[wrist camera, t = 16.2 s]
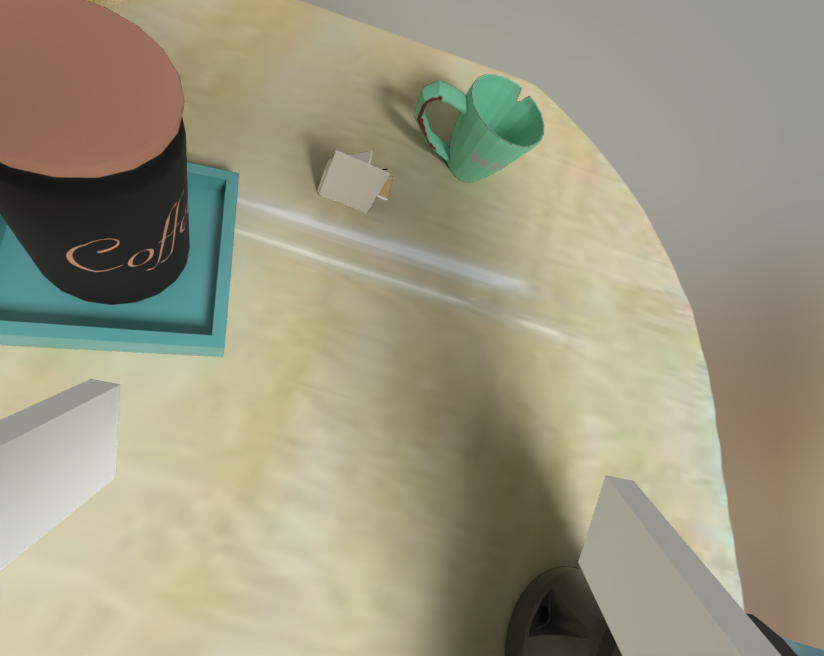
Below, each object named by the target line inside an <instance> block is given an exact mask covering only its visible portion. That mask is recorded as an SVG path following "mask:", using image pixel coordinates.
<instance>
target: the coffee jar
mask: <svg viewBox="0 0 824 656" xmlns="http://www.w3.org/2000/svg"><path fill="white" fill-rule="evenodd" d="M183 109H184V96H183V92H182V87H181V82H180V77H179V74H178V72H177V71H176V69H175V68H174V66H173V64H172V63H171V61H170V60H169V58H168V56H167V55H166V53H165V52H164V50H163V49H162V48H161V47H160V46H159V45H158V44H157V43H156V42H155V41H154V40H153V39H151V38H150V37H149V36H148V35H147V34H146V33H145V32H144V31H143V30H142V29H141V28H140V27H138V26H137V25H135V24H133V23H131V22H130V21H128V20H126V19H125V18H123V17H121V16H120V15H118V14H116V13H114V12H113V11H111V10H109V9H108V8H105V7H103V6H100V5H97V4H94V3H91V2H89V1H86V0H0V215H1V216H2V218H3V219H4V220H5V222H6V223H7V225H8V226H9V227H10V229H11V230H12V232H13V233H14V235H15V236H16V237H17V239H18V240H19V242H20V243H21V245H22V246H23V247H24V249H25V250H26V252H27V253H28V255H29V256H30V257H31V259H32V260H33V262H34V263H35V265H36V266H37V267H38V269H39V270H40V272H41V273H42V275H43V276H44V277H45V278H47V279H48V280H49V281H50V282H51V283H53V284H54V285H55V286H56V287H57V288H59V289H60V290H61V291H62V292H65V293H67V294H70V295H72V296H74V297H77V298H79V299H81V300H84V301H87V302H94V303H101V304H108V305H117V304H127V303H136V302H139V301H142V300H145V299H147V298H150V297H153V296H155V295H158V294H160V293H161V292H162V291H164V290H165V289H166V288H167V287H169V286H170V285H171V284H173V283H174V282H175V281H176V280H177V279H178V277H179V276H180V274H181V273H182V271H183V269H184V268H185V266H186V264H187V259H188V254H189V249H190V240H189V211H188V182H187V154H186V133H185V128H184V123H183V118H182V114H183Z"/></svg>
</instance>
